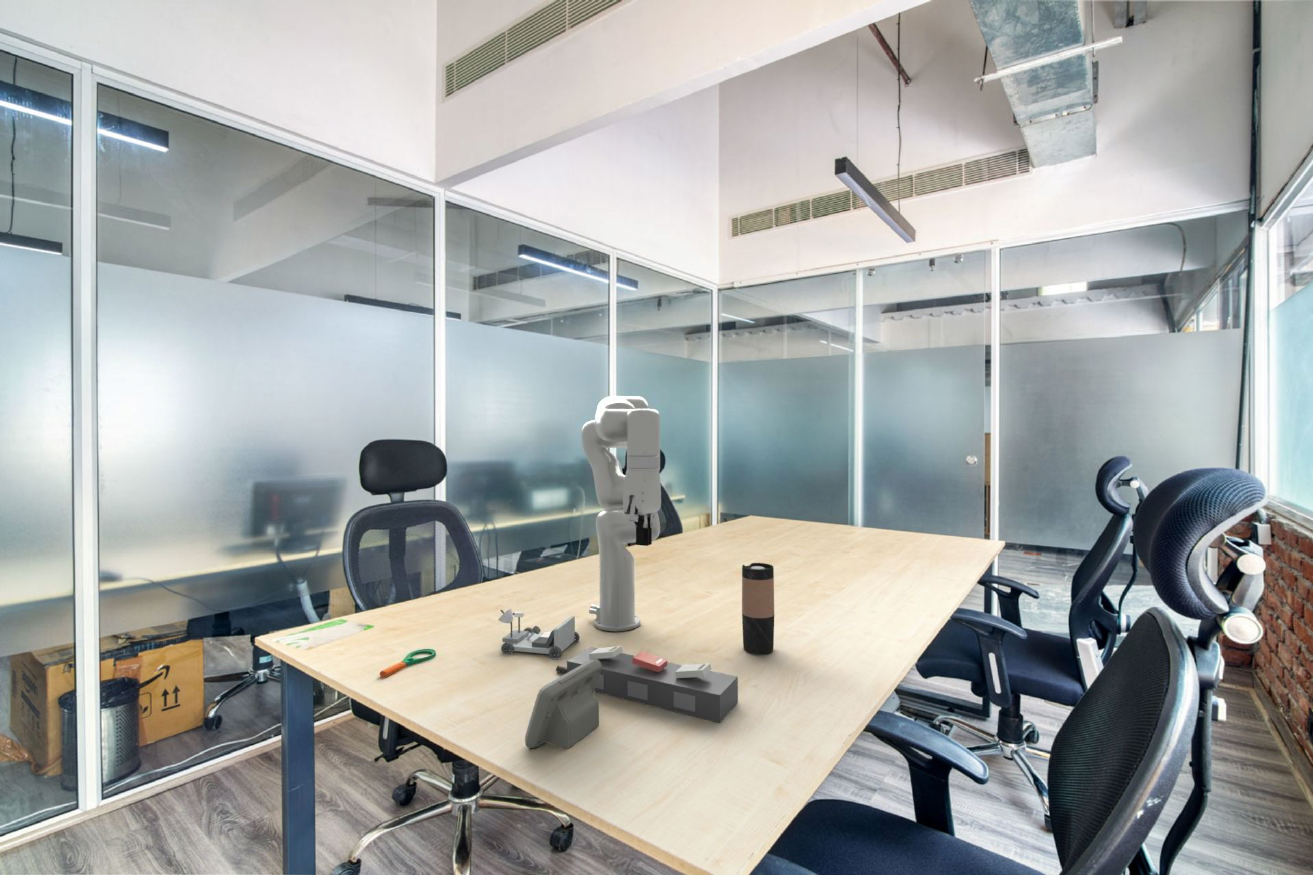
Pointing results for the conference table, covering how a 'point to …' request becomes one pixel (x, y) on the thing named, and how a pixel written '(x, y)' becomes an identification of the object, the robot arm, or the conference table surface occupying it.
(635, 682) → the power strip
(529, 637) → the toy car
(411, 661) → the magnifying glass
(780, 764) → the conference table surface
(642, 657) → the rocker middle
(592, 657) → the rocker left
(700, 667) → the rocker right
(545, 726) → the digital clock
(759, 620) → the travel mug
